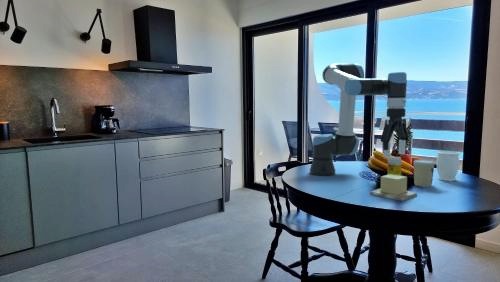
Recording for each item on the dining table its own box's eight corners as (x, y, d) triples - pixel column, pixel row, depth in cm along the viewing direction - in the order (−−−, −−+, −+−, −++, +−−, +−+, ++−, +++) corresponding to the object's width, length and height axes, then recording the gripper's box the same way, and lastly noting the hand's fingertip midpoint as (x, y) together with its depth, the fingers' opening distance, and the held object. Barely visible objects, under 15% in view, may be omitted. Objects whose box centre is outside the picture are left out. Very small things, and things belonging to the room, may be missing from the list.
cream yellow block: (380, 191, 150) (380, 176, 149) (389, 188, 155) (389, 174, 154) (397, 195, 144) (398, 179, 143) (406, 192, 149) (407, 176, 148)
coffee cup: (436, 187, 162) (437, 163, 161) (415, 186, 164) (416, 162, 162) (430, 183, 171) (431, 160, 170) (410, 182, 173) (411, 159, 172)
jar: (462, 180, 176) (464, 152, 174) (449, 182, 172) (450, 153, 171) (444, 176, 186) (445, 150, 184) (431, 178, 182) (432, 151, 180)
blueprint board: (370, 194, 151) (370, 191, 151) (385, 189, 159) (385, 186, 159) (402, 200, 140) (402, 197, 139) (416, 195, 148) (417, 192, 148)
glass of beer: (385, 187, 163) (385, 157, 161) (390, 185, 167) (391, 156, 165) (397, 189, 158) (398, 158, 157) (402, 187, 163) (403, 157, 161)
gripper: (389, 108, 135) (388, 159, 137) (417, 107, 150) (415, 153, 153) (372, 108, 141) (371, 157, 143) (401, 107, 156) (399, 152, 159)
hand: (394, 155), depth 148 cm, fingers open, 13 cm apart
